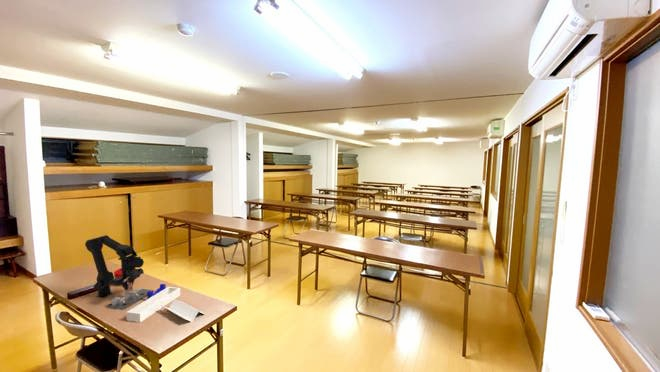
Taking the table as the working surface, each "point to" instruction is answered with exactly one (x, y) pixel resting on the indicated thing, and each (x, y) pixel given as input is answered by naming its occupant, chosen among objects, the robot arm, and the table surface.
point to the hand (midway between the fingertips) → (128, 289)
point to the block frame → (152, 304)
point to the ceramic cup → (118, 274)
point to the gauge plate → (128, 299)
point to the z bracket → (183, 310)
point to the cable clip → (150, 293)
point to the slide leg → (130, 290)
